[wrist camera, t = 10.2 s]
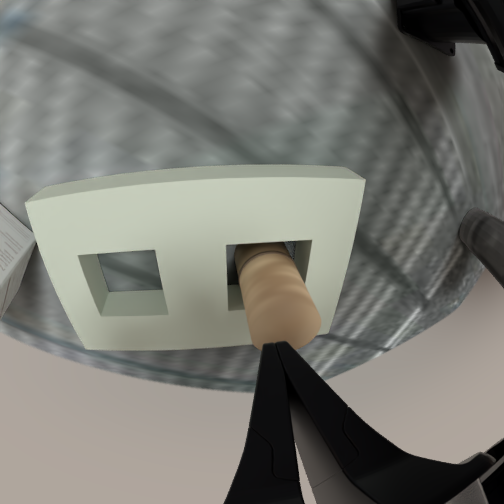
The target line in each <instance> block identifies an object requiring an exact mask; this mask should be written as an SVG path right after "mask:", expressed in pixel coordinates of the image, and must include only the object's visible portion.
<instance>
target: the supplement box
mask: <svg viewBox="0 0 504 504" xmlns="http://www.w3.org/2000/svg"><path fill="white" fill-rule="evenodd" d="M35 244H36V239H35V236H34V233H33V232H32V231H30V230H29V229H28V228H27V227H26V226H25V225H23V224H22V223H21V222H20V221H19V220H18V219H17V218H15V217H14V216H13V215H12V214H11V213H10V212H9V211H8V210H7V209H5V208H4V207H3V206H2V205H1V204H0V320H1V318H2V316H3V315H4V313H5V311H6V309H7V308H8V306H9V304H10V303H11V301H12V300H13V298H14V296H15V295H16V293H17V291H18V290H19V288H20V285H21V281H22V278H23V275H24V273H25V270H26V267H27V264H28V262H29V259H30V256H31V254H32V251H33V249H34V246H35Z"/></svg>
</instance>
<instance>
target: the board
mask: <svg viewBox="0 0 504 504" xmlns="http://www.w3.org/2000/svg"><path fill="white" fill-rule="evenodd" d="M365 181H366V180H365V179H364V178H362V177H361V176H359V175H357V174H356V173H354V172H352V171H351V170H349V169H348V168H346V167H338V166H318V165H271V164H268V165H221V166H201V167H185V168H172V169H161V170H151V171H141V172H133V173H124V174H117V175H110V176H103V177H96V178H90V179H84V180H78V181H72V182H67V183H62V184H56V185H52V186H47V187H44V188H43V189H42V190H40V191H39V192H38V193H36V194H35V195H34V196H33V197H31V198H30V199H29V200H28V201H26V202H25V205H26V209H27V212H28V216H29V220H30V223H31V226H32V230H33V233H34V236H35V239H36V242H37V245H38V248H39V251H40V253H41V256H42V259H43V261H44V264H45V267H46V269H47V272H48V274H49V276H50V279H51V281H52V284H53V286H54V288H55V290H56V293H57V295H58V297H59V299H60V301H61V303H62V306H63V308H64V310H65V312H66V314H67V316H68V318H69V320H70V322H71V323H72V325H73V327H74V329H75V331H76V333H77V335H78V336H79V338H80V340H81V342H82V343H83V345H84V347H85V349H88V350H119V351H150V350H183V349H201V348H216V347H228V346H239V345H249V344H253V343H252V340H251V336H250V331H249V327H248V322H247V317H246V312H245V307H244V303H243V298H242V293H241V289H240V286H239V285H227V265H226V245H231V244H247V243H264V242H281V241H296V247H295V255H294V262H295V264H296V266H297V270H298V272H299V274H300V276H301V278H302V280H303V282H304V284H305V286H306V288H307V290H308V292H309V294H310V296H311V298H312V300H313V302H314V304H315V306H316V308H317V311H318V313H319V315H320V317H321V327H320V330H319V332H318V333H317V335H321V334H327V333H329V330H330V326H331V323H332V320H333V317H334V313H335V310H336V307H337V303H338V300H339V296H340V293H341V289H342V286H343V282H344V278H345V274H346V271H347V267H348V263H349V259H350V255H351V250H352V246H353V242H354V237H355V233H356V228H357V224H358V219H359V214H360V209H361V204H362V198H363V193H364V187H365ZM140 250H155V251H156V257H157V262H158V267H159V272H160V277H161V282H162V287H163V290H143V291H120V292H109V290H108V287H107V284H106V281H105V278H104V275H103V272H102V269H101V266H100V263H99V259H98V256H97V254H99V253H112V252H126V251H140Z"/></svg>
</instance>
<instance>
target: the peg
mask: <svg viewBox="0 0 504 504" xmlns="http://www.w3.org/2000/svg"><path fill="white" fill-rule="evenodd" d="M234 257H235V263H236V268H237V273H238V282H239V286H240V289H241V293H242V298H243V303H244V307H245V312H246V317H247V322H248V327H249V331H250V336H251V340H252V343H253V345H254V346H255V347H256V348H257V349H259V350H261V351H262V345H263V344H264V343H270V342H273V343H275V342H277V341H287V342H288V343H289V344H290V345H291V346H292V347H293V348H294V349H295V350H297V349H299V348H301V347H303V346H304V345H306V344H307V343H309V342H310V341H311V340H312V339H313V338H314V337H315V336H316V335H317V333H318V332H319V330H320V327H321V317H320V315H319V313H318V311H317V308H316V306H315V304H314V302H313V300H312V298H311V296H310V294H309V292H308V290H307V288H306V286H305V284H304V282H303V280H302V278H301V276H300V274H299V272H298V270H297V266H296V264H295V262H294V261H293V259H292V258H291V256H290V254H289V252H288V250H287V248H286V246H285V244H284V242H283V241H281V242H264V243H247V244H238V245H237V246H236V249H235V253H234Z"/></svg>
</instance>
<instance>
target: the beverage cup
mask: <svg viewBox="0 0 504 504" xmlns="http://www.w3.org/2000/svg"><path fill="white" fill-rule="evenodd" d="M459 235H460V239H461V240H462V241H463V242H464V243H465V245H466V246H467V247H468V249H469V250H470V251H471V252H472V253H473V254H474V255H475V256H476V257H477V258H478V259H479V260H480V261H481V262H482V264H483V265H484V266H485V267H486V268H487V269H488V270H489V271H490V273H491V274H492V275H493V276H494V277H495V278H496V280H497V281H498V282H499V283H500V284H501V286H502V287H503V288H504V222H503V221H502V220H500V219H498V218H497V217H495V216H493V215H491V214H489V213H488V212H485V211H483V210H480V209H479V208H473V209H471V210H470V211H469V212H468V213H467V214H466V216H465V217H464V219H463V221H462V224H461V227H460V232H459Z"/></svg>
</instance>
